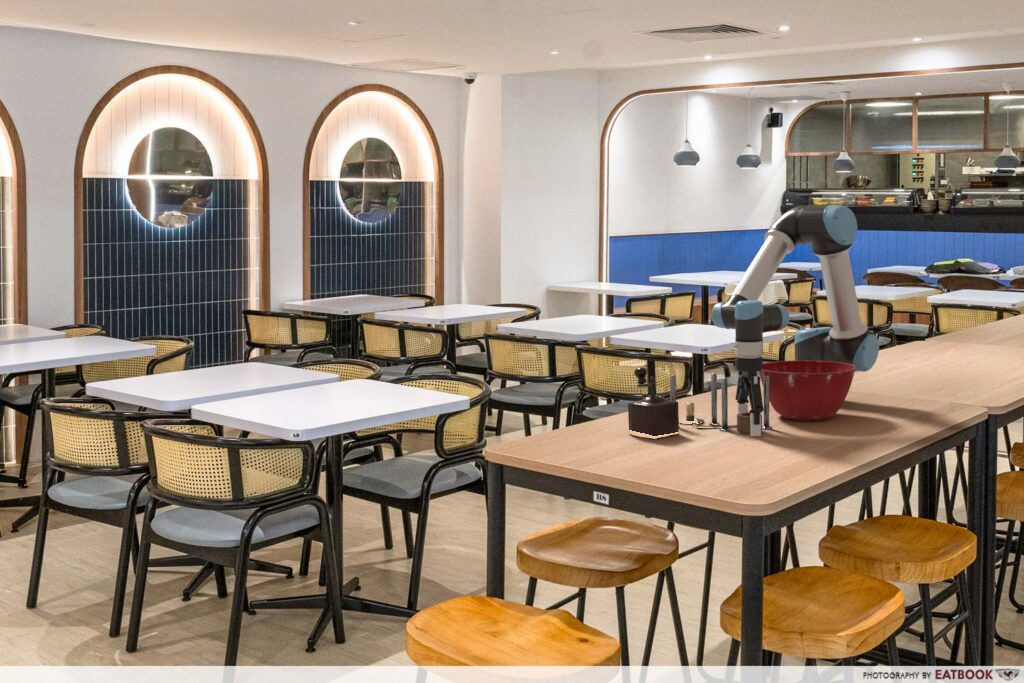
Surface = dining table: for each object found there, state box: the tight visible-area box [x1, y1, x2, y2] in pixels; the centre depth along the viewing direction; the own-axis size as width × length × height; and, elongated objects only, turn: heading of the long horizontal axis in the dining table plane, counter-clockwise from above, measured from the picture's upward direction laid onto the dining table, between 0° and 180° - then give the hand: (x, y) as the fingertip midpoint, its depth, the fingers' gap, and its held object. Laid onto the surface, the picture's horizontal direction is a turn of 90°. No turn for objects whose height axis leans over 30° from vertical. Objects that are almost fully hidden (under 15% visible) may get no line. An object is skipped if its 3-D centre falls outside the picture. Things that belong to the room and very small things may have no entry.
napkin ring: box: [736, 411, 763, 435], centre depth 322 cm, size 6×6×5 cm
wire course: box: [669, 372, 773, 432], centre depth 329 cm, size 12×28×15 cm, turn 93°
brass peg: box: [685, 401, 705, 423], centre depth 338 cm, size 8×8×6 cm
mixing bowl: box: [758, 360, 856, 422], centre depth 340 cm, size 28×28×15 cm
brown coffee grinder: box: [627, 367, 680, 436], centre depth 324 cm, size 16×11×18 cm
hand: (749, 431), depth 322 cm, fingers open, 13 cm apart
